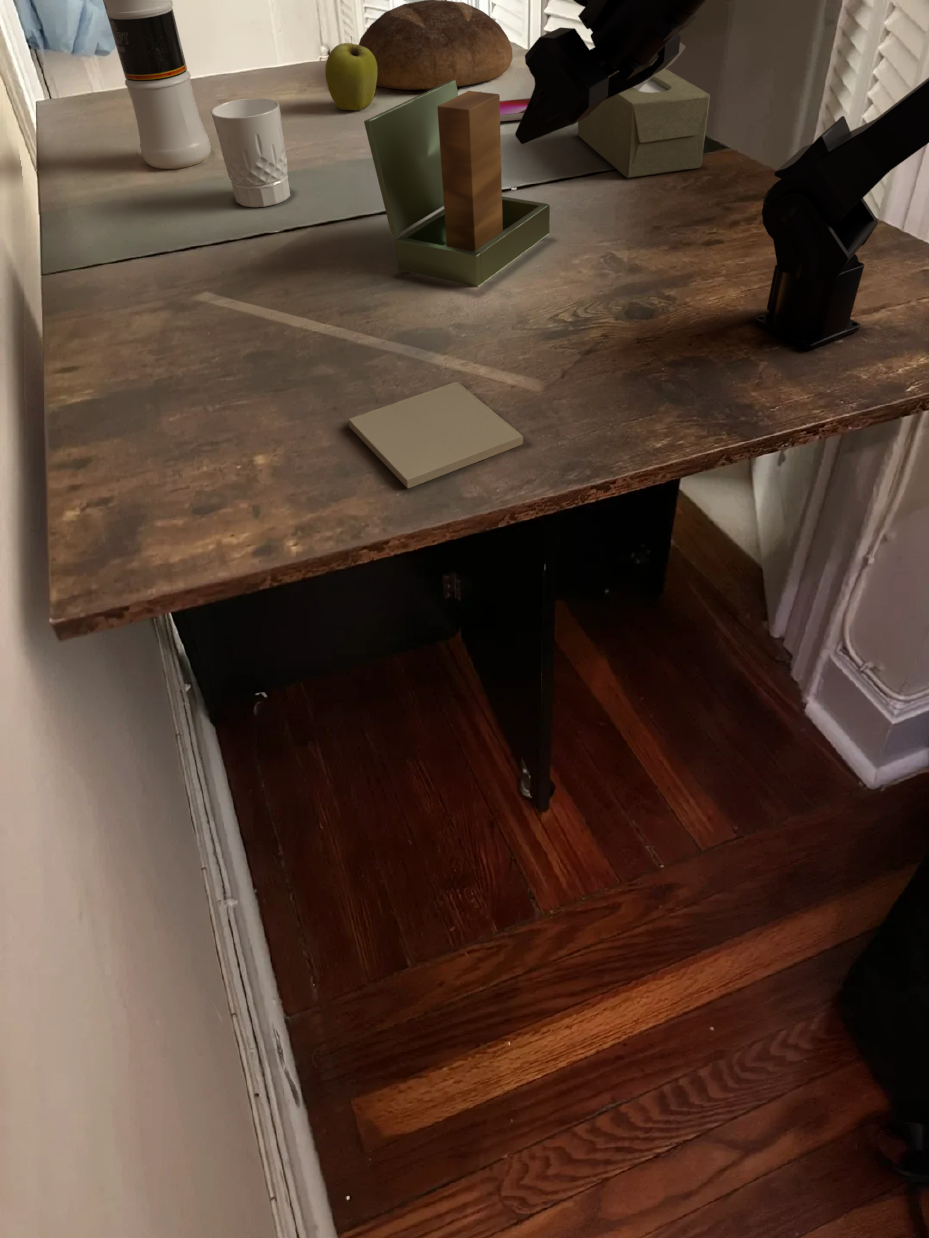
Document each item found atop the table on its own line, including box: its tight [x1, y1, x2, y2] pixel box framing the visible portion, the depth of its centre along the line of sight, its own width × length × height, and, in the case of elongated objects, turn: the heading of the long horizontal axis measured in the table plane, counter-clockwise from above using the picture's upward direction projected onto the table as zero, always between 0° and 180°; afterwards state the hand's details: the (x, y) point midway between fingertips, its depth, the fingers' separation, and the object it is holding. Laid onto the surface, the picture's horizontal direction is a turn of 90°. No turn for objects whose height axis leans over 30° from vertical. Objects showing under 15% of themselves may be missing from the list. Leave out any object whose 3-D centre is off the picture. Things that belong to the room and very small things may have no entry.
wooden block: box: [437, 90, 503, 252], centre depth 87 cm, size 4×6×14 cm, turn 147°
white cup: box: [210, 97, 291, 208], centre depth 105 cm, size 8×8×10 cm
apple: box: [324, 37, 377, 111], centre depth 132 cm, size 8×8×10 cm
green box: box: [394, 195, 551, 288], centre depth 91 cm, size 10×15×4 cm, turn 147°
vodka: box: [102, 0, 212, 170], centre depth 111 cm, size 9×9×30 cm
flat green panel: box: [363, 80, 459, 236], centre depth 88 cm, size 10×15×1 cm
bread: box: [358, 0, 513, 91], centre depth 143 cm, size 26×27×10 cm
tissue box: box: [577, 41, 711, 180], centre depth 108 cm, size 19×10×16 cm, turn 14°
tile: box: [348, 380, 524, 489], centre depth 68 cm, size 10×10×1 cm
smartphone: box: [500, 97, 531, 122], centre depth 127 cm, size 7×1×15 cm
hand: (544, 124), depth 79 cm, fingers open, 9 cm apart
